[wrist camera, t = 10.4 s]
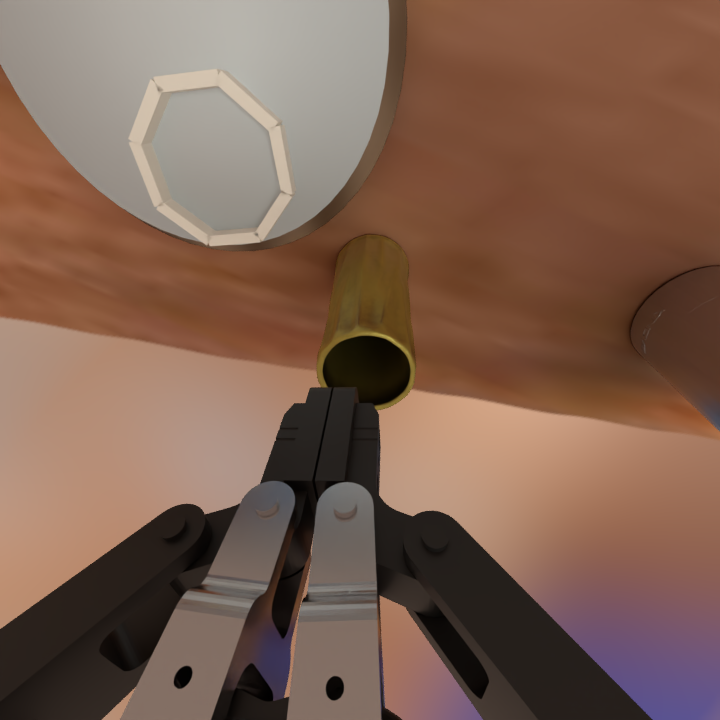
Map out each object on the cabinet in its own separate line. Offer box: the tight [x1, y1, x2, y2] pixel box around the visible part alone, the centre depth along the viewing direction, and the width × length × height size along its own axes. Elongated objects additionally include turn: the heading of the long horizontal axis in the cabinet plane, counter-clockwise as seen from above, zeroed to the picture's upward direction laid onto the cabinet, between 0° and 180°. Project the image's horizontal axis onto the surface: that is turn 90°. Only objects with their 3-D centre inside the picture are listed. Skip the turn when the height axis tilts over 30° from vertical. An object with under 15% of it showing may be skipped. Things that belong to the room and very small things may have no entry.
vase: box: [317, 235, 416, 410], centre depth 24 cm, size 6×6×14 cm
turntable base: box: [124, 0, 407, 251], centre depth 21 cm, size 24×24×3 cm
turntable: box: [0, 0, 389, 246], centre depth 18 cm, size 22×22×6 cm
